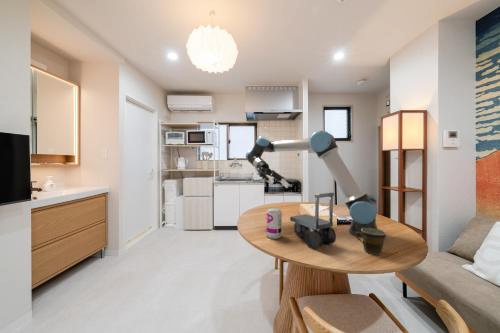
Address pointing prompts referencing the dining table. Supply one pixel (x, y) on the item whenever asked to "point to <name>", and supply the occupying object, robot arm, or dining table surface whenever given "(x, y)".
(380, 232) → the ceramic cup
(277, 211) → the supplement can
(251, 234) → the dining table surface
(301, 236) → the trolley
